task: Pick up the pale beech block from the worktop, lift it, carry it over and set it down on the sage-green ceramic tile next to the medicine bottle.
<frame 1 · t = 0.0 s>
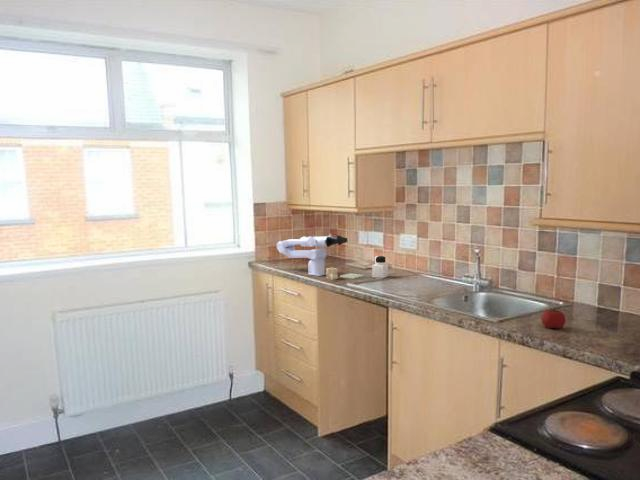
hand: (342, 240, 285), 22 cm above the worktop, tool horizontal, fingers open, 7 cm apart
medicine bottle: (380, 277, 291), on the worktop
tomato: (552, 328, 185), on the worktop
beech block: (332, 278, 286), on the worktop
tile: (351, 276, 292), on the worktop
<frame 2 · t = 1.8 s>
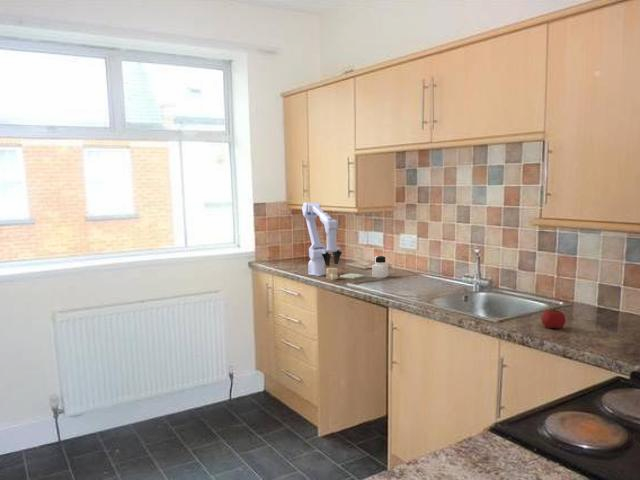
hand: (331, 264, 285), 8 cm above the worktop, tool pointing down, fingers open, 7 cm apart
nothing on the worktop moved.
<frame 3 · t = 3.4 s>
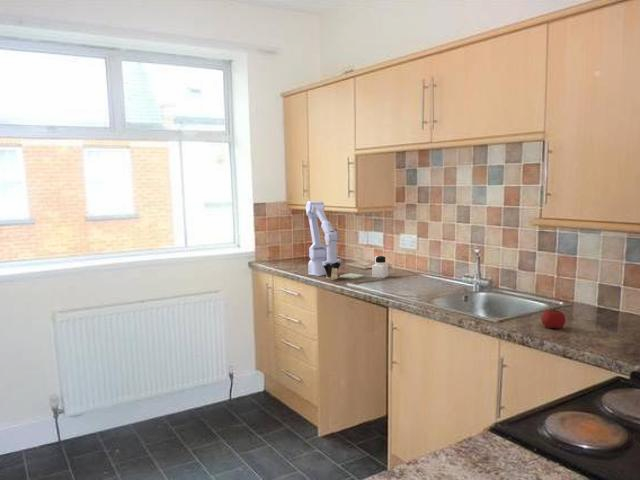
hand: (332, 276, 286), 1 cm above the worktop, tool pointing down, fingers closed on beech block, 4 cm apart
beech block: (332, 278, 286), on the worktop, touching gripper
everything else where it was.
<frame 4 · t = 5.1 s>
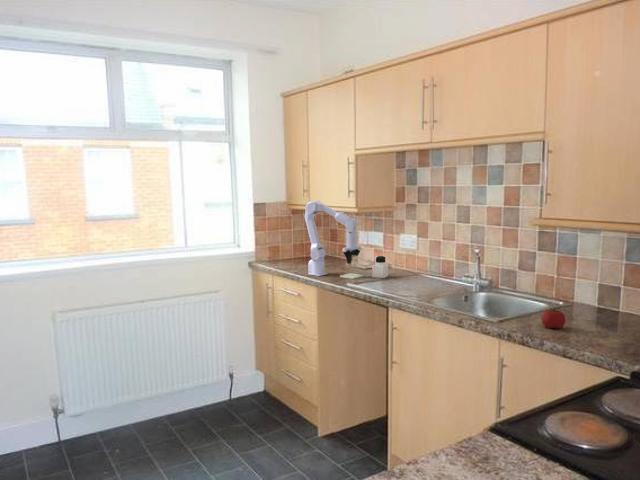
hand: (351, 262, 291), 8 cm above the worktop, tool pointing down, fingers closed on beech block, 4 cm apart
beech block: (352, 265, 291), point 6 cm above the worktop, touching gripper
everything else where it was.
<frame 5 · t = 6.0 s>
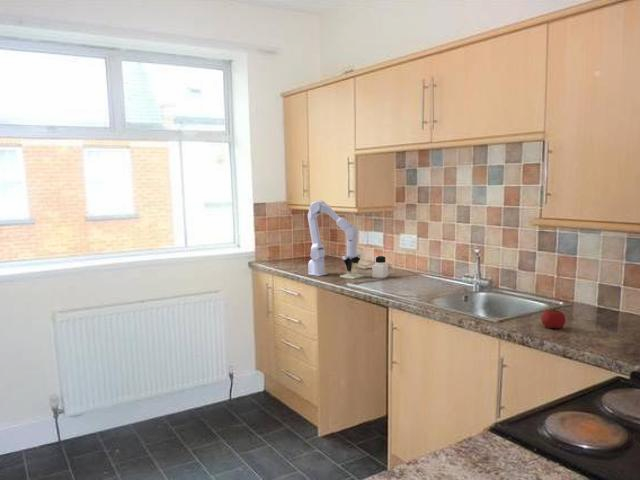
hand: (351, 270, 291), 4 cm above the worktop, tool pointing down, fingers closed on beech block, 4 cm apart
beech block: (352, 273, 291), point 2 cm above the worktop, touching gripper
everything else where it was.
when the fingers open (4 cm above the worktop, at t = 6.7 s): beech block drops 1 cm, resting on tile.
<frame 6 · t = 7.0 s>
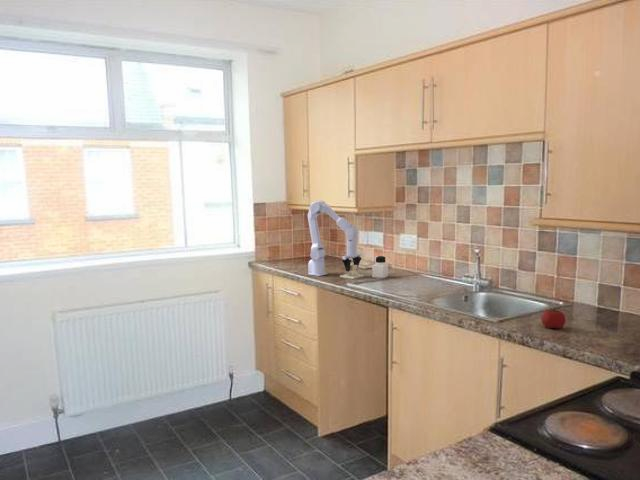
hand: (351, 270, 291), 4 cm above the worktop, tool pointing down, fingers open, 7 cm apart
beech block: (352, 275, 292), point 1 cm above the worktop, touching tile
everything else where it was.
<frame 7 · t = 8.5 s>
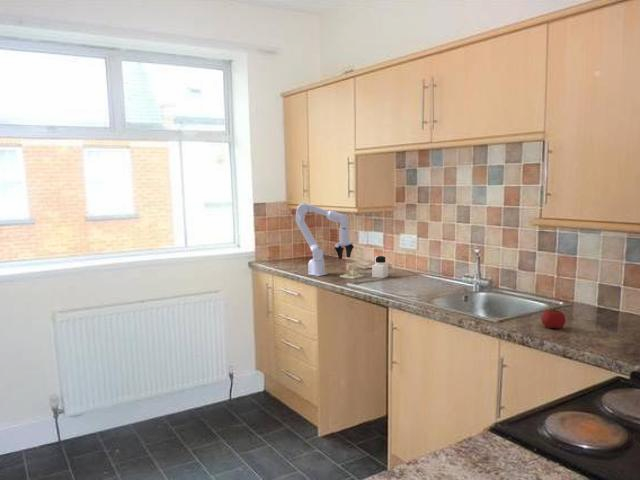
hand: (344, 258, 298), 10 cm above the worktop, tool pointing down, fingers open, 7 cm apart
nothing on the worktop moved.
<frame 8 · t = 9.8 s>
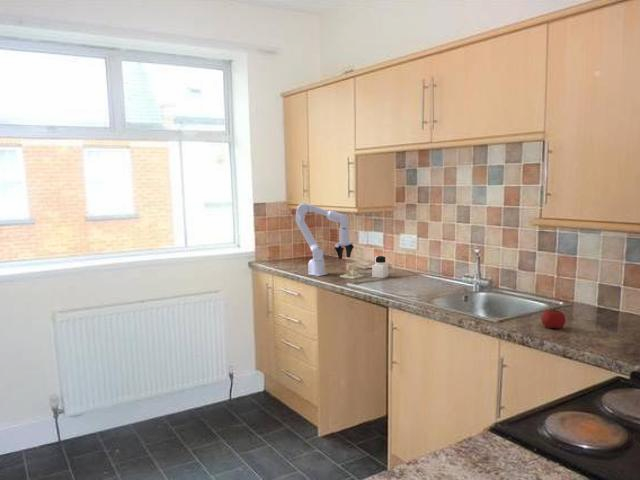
hand: (344, 258, 298), 10 cm above the worktop, tool pointing down, fingers open, 7 cm apart
nothing on the worktop moved.
at the end: beech block inside the target area on the tile (0.2 cm from its centre), point 0.8 cm above the tile's base; beech block tilted 0°; the gripper is holding nothing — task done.
